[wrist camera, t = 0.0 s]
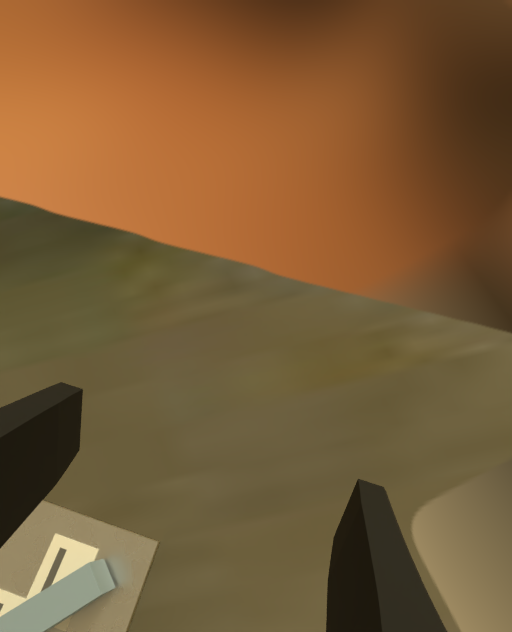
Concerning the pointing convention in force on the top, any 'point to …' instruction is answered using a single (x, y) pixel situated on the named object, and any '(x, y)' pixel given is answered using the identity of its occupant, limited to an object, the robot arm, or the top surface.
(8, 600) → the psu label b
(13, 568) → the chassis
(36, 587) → the power supply label
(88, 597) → the swing arm
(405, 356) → the top surface
